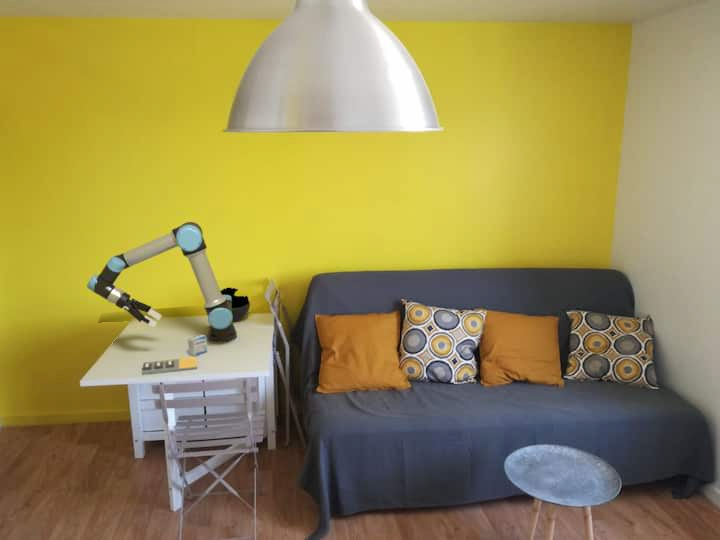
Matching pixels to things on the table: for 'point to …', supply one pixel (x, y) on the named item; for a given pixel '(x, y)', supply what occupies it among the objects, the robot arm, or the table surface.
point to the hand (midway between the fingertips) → (158, 321)
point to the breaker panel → (169, 365)
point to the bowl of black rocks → (237, 303)
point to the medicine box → (197, 345)
